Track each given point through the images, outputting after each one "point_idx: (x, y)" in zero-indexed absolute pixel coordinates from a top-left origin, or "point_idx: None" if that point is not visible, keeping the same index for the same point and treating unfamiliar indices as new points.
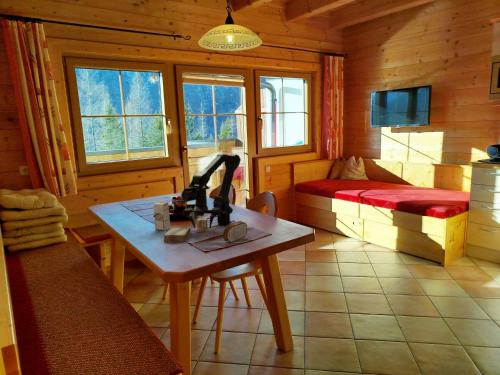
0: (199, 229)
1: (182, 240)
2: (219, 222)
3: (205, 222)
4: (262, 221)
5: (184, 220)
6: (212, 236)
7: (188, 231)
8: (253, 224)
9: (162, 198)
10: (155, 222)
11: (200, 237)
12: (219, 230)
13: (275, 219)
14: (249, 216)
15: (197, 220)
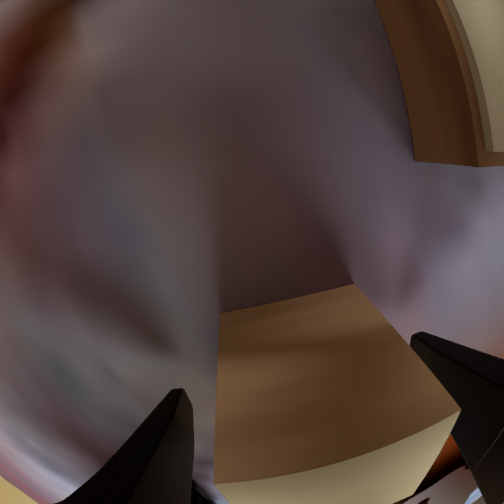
0: (334, 307)
1: None
2: (191, 502)
3: (220, 434)
4: (15, 474)
5: (459, 453)
6: (40, 112)
7: (432, 15)
8: (5, 451)
9: (472, 500)
10: None
11: (194, 15)
12: (77, 367)
13: (3, 477)
14: None
15: (449, 415)
